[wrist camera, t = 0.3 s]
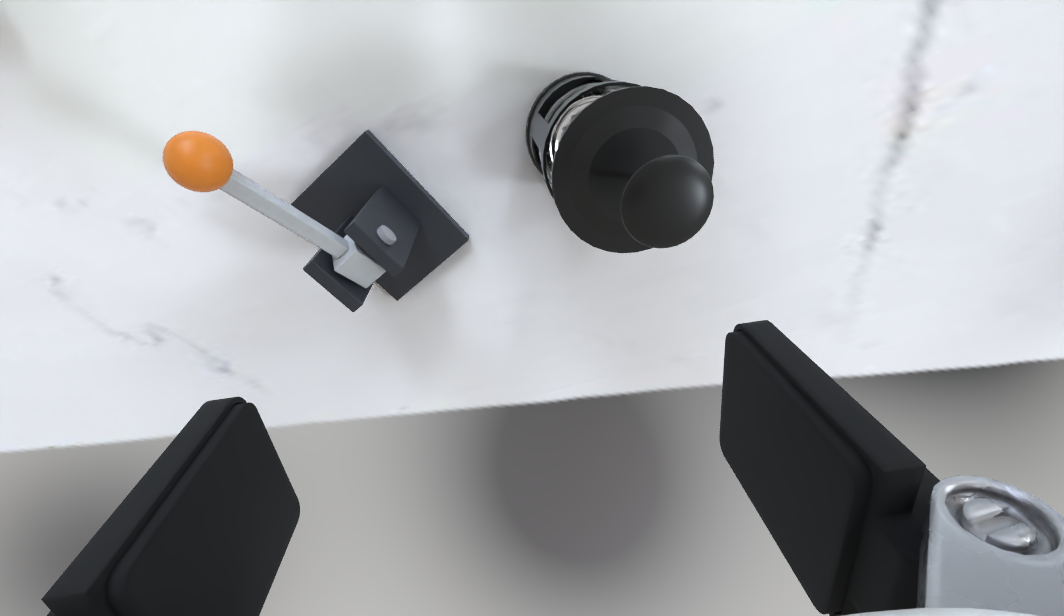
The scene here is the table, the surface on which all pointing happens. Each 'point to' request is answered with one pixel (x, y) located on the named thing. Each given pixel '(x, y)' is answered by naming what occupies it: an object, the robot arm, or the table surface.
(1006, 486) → the robot arm
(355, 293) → the switch bracket
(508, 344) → the table surface
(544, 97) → the french press
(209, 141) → the switch lever
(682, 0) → the table surface
